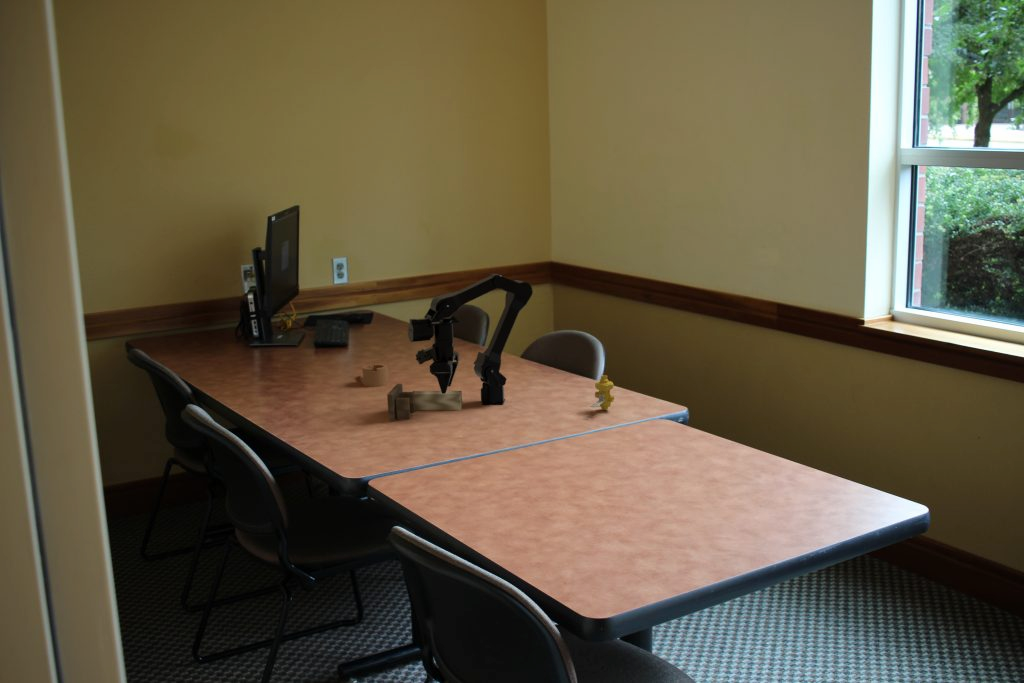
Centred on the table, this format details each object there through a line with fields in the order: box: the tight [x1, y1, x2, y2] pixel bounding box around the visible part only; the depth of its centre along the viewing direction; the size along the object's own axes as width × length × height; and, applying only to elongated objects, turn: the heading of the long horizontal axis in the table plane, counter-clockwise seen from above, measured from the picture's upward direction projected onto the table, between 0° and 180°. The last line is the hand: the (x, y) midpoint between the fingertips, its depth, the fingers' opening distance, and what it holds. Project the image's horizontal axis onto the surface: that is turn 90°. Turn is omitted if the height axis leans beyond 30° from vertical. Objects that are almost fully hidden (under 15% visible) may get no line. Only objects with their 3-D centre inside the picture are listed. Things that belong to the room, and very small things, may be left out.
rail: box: [412, 390, 463, 411], centre depth 300 cm, size 15×4×5 cm, turn 85°
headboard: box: [386, 383, 416, 423], centre depth 292 cm, size 6×14×8 cm, turn 175°
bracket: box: [359, 363, 389, 388], centre depth 337 cm, size 18×8×7 cm, turn 15°
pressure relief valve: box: [589, 374, 615, 411], centre depth 289 cm, size 6×12×10 cm, turn 155°
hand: (446, 389), depth 299 cm, fingers open, 9 cm apart
